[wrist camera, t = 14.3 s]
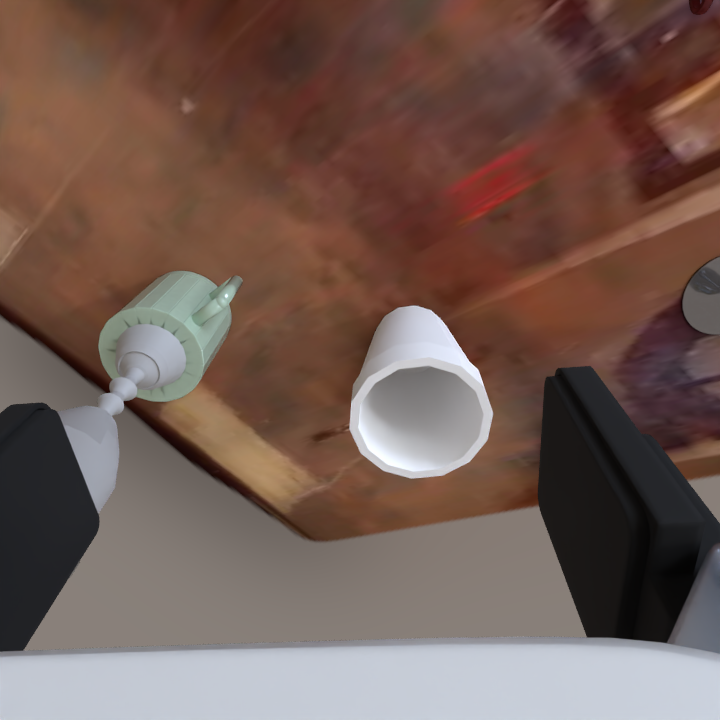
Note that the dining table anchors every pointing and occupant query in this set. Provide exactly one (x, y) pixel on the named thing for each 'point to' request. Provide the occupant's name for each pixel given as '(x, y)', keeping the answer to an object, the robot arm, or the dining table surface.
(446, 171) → the dining table surface
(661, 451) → the robot arm
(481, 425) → the foam cup
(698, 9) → the cocoa
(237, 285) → the mug
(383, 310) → the dining table surface
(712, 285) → the wine glass
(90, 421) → the chalice
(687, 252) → the dining table surface
